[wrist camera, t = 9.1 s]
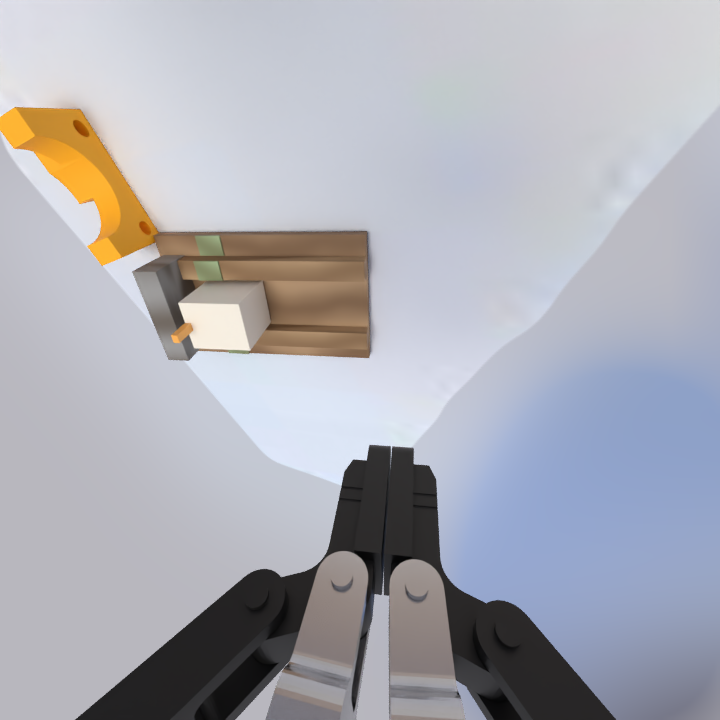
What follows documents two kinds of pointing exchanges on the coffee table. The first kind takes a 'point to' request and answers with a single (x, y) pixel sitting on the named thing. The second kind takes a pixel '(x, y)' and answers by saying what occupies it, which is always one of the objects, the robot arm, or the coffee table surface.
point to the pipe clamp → (83, 174)
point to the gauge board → (268, 287)
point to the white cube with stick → (224, 315)
